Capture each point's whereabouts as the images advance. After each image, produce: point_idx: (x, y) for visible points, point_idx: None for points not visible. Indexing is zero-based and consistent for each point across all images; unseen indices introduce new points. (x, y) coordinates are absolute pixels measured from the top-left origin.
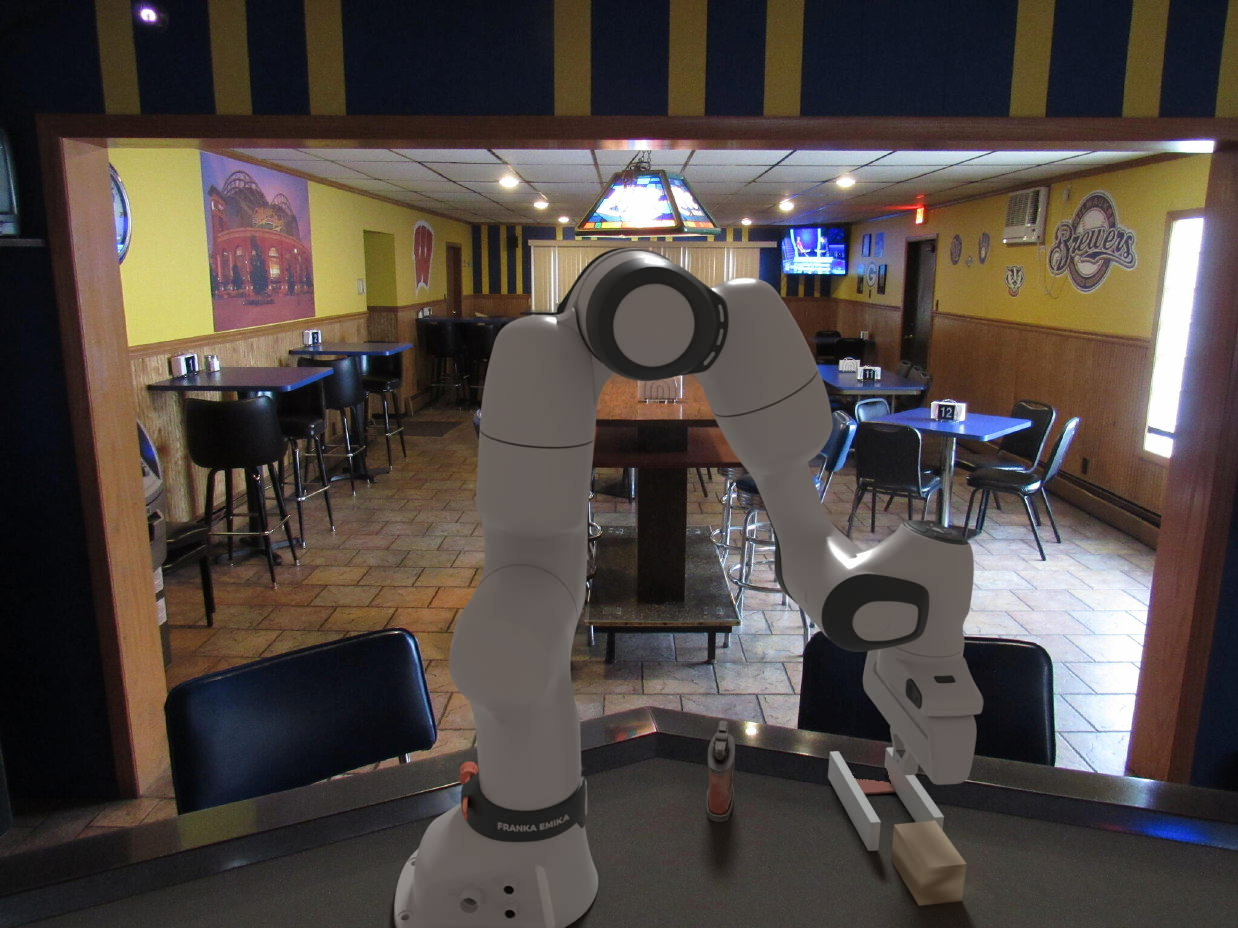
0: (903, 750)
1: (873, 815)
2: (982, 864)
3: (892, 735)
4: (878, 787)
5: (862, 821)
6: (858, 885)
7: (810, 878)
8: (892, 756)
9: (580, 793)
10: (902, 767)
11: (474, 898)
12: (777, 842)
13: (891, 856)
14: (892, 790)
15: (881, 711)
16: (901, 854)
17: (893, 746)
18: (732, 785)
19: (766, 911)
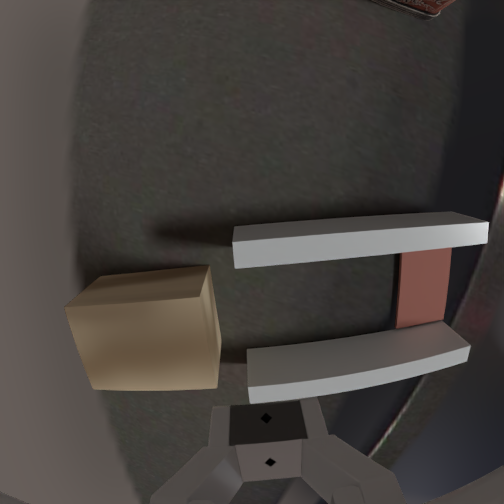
0: (300, 459)
1: (259, 257)
2: (202, 403)
3: (357, 470)
4: (409, 301)
5: (280, 230)
6: (139, 179)
7: (160, 89)
8: (316, 403)
9: None
10: (218, 422)
11: None
12: (266, 45)
13: (207, 267)
14: (396, 324)
15: (485, 492)
16: (160, 284)
17: (329, 437)
18: (418, 12)
19: (97, 16)
